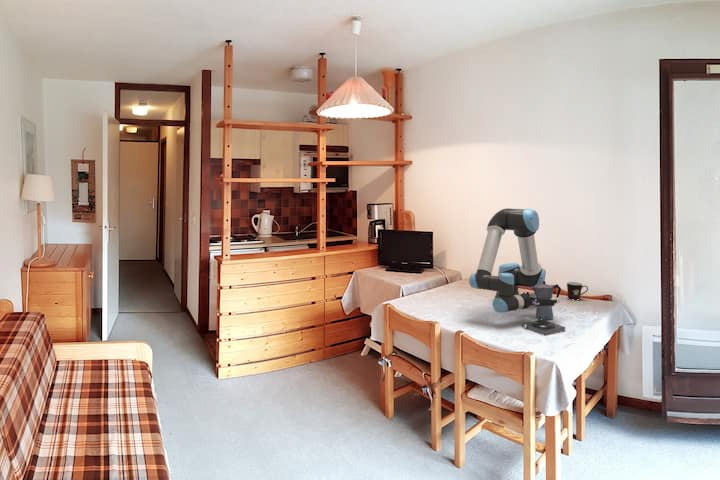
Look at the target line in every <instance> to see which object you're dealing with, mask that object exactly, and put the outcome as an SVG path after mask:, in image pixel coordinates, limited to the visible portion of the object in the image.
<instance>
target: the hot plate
mask: <svg viewBox="0 0 720 480" xmlns="http://www.w3.org/2000/svg"><path fill="white" fill-rule="evenodd" d="M523 327H524V328H523ZM521 328H523V329H526V330H529V331H531V330H532V332H534V333H537V332H538V333H537V334H540V333H541V334H540V335H542V334H544V335H543V336H547V334H548V335H552V334H551V333H553V334H556V333H555V332H558V333H561V332H560V331H562V332H565V331H566V326H563V325H560V324H557V323H555V322H552V321H549V320H541V319H537V320H532V321H527V322H522V323H521ZM564 330H565V331H564Z"/></svg>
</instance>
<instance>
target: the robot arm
mask: <svg viewBox="0 0 720 480" xmlns="http://www.w3.org/2000/svg"><path fill="white" fill-rule="evenodd" d="M487 223H488V224H487V226H486V231H487V234H486V237H485V239H484V240H485V241H484V244H483V248H482V252H481V255H480V258H479V263H478V266H477V269H476V272H475V273H471V274H470V276H469V279H468V280H469V281H468V282H469V283H468V284H469V286H470V287H471V288H472V289H473V288H474V289H477V290H487V291H492V292H493V291H494V292H496V294H495V296H494V299H493V300H492V308H493V310H494V311H495V312H496V313H498V314H499V313H501V314H502V313H508V312H509V313H510V312H516V311H518V310H526V309H528V308H529V307H530V306H535V307H537V306H552V307H554V306H555V305H556V304H560V303H561V297H558V298H556V297H555V298H554V297H552V299H550V300H548V299H538V298H536V294H535V292H530V291H526V292H523V293H521V294H520V291H519V287H522V288H530V289H532V287H533V286H535V285H540V284H543V282H542V281H545V282H546V280H545V279H546V275H547V270H546V269H545V268H542V265H541V263H539V261H538V253H537V246H536V240H535V234H536V233H537V231H538V230H539V228H540V216H539V213H538V212H537V211H536V210H535V209H532V208H508V207H507V208H502V209H500V210H498V211H497V212H496V213H495V214H494V215H493V216H492V217H491V219H490V220H489V222H487ZM506 231H513V233H514V236H515V237H517V242H518V247H519V253H520V259H521V266H520V263H517V262H515V263H514V262H512V263H509V262H508V263H503V264H500V265H499V267H498V275H492V273H493V269H494V265H495V263H496V258H497V254H498V250H499V248H500V244H501V240H502V237H503V235H504V234H505V233H506Z"/></svg>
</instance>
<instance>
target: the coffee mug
mask: <svg viewBox="0 0 720 480" xmlns="http://www.w3.org/2000/svg"><path fill="white" fill-rule="evenodd" d="M584 287H586V290H585V291H584V292H582V289H583V288H584ZM566 289H567V299H568V298H569V299H574V300H577V299H579V300H580V298H581V296H582V295H584V294H585V293H587V292H588V290H589V287H588V286H587V285H583V283H582V282H577V281H568V282H566ZM569 299H568V300H569Z"/></svg>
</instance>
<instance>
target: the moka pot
mask: <svg viewBox="0 0 720 480" xmlns="http://www.w3.org/2000/svg"><path fill="white" fill-rule="evenodd" d="M542 282H543V284H540V285H535V286H533V287H532V288H531V289H532V290H533V293H535V294H536V298H538V299H548V300H550V299H553V291H554V289H558V290H557V293H556V297H555V298H560V293H561V290H562V288H561V286H559V284H551V285H550V284H547V283H546V280H545V281H542ZM535 318H536V319H537V318H538V319H537V320H541V319H542V320H545V321H549V320H550V321H551V320H553V319H554V311H553V306H536V310H535Z"/></svg>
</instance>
